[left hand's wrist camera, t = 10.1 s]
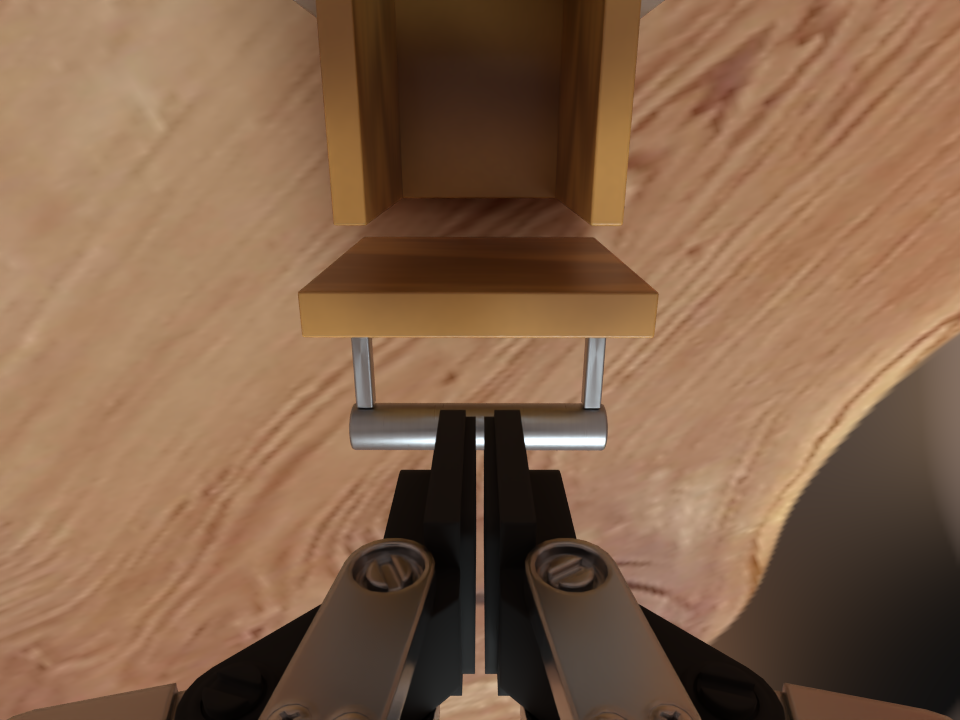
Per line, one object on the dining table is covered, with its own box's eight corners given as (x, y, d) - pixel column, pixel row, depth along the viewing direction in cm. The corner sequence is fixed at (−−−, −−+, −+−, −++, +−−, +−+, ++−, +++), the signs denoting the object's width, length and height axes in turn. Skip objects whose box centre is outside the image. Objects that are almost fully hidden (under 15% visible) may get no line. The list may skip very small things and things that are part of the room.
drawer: (583, 401, 25) (633, 529, 17) (373, 401, 25) (321, 528, 17) (637, -390, 17) (789, -903, 9) (322, -391, 17) (169, -905, 9)
